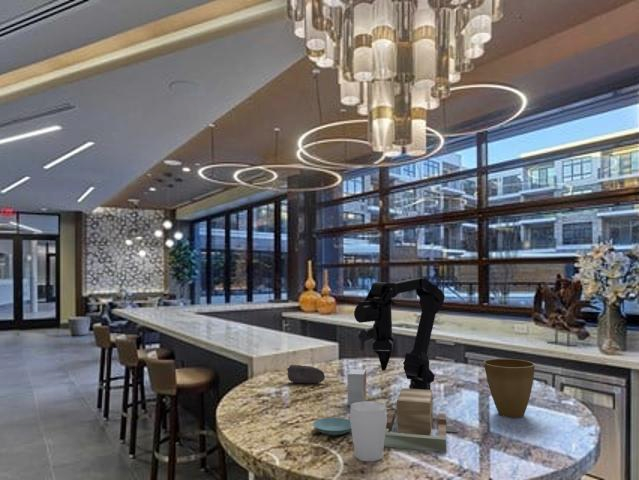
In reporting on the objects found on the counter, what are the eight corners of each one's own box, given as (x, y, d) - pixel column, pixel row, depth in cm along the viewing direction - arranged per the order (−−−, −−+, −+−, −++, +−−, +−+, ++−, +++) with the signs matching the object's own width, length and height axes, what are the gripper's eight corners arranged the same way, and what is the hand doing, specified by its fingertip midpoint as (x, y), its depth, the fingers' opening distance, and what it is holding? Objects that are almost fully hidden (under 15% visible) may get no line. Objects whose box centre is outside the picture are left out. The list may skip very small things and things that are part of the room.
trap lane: (379, 415, 148) (379, 405, 148) (456, 421, 142) (455, 410, 143) (366, 444, 124) (366, 433, 124) (458, 453, 118) (458, 440, 118)
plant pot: (533, 409, 153) (532, 359, 154) (538, 424, 139) (537, 368, 140) (485, 405, 158) (483, 356, 159) (485, 419, 144) (483, 365, 145)
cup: (347, 450, 120) (347, 401, 121) (382, 448, 121) (382, 400, 122) (353, 464, 111) (352, 412, 112) (391, 463, 112) (390, 411, 113)
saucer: (313, 424, 140) (313, 416, 141) (354, 425, 140) (354, 417, 140) (312, 439, 129) (312, 430, 129) (355, 439, 128) (355, 430, 128)
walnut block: (402, 418, 146) (402, 388, 147) (432, 420, 144) (432, 390, 144) (397, 433, 133) (396, 400, 133) (430, 436, 130) (429, 402, 131)
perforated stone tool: (326, 382, 191) (326, 365, 192) (323, 385, 186) (323, 367, 187) (290, 380, 195) (290, 363, 195) (286, 383, 190) (286, 366, 190)
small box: (364, 406, 158) (364, 374, 158) (347, 405, 159) (347, 373, 159) (366, 400, 166) (366, 369, 166) (350, 399, 167) (350, 368, 167)
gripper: (361, 316, 169) (362, 361, 169) (355, 323, 151) (357, 373, 150) (393, 316, 167) (394, 361, 167) (391, 323, 149) (392, 374, 148)
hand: (384, 367), depth 158 cm, fingers open, 9 cm apart
